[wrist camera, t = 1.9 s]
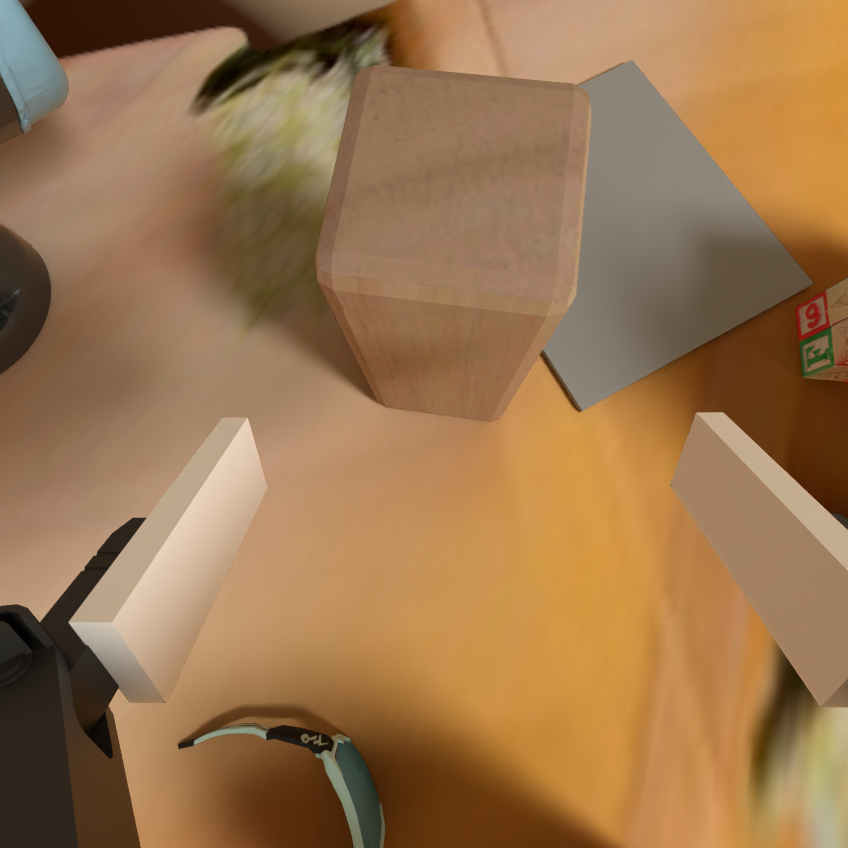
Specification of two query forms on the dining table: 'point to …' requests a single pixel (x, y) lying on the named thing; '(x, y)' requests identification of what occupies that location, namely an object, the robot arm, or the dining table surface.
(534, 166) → the wooden block
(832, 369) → the stack of blocks
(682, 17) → the dining table surface
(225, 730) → the sunglasses
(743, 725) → the dining table surface
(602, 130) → the mat
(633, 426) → the dining table surface
